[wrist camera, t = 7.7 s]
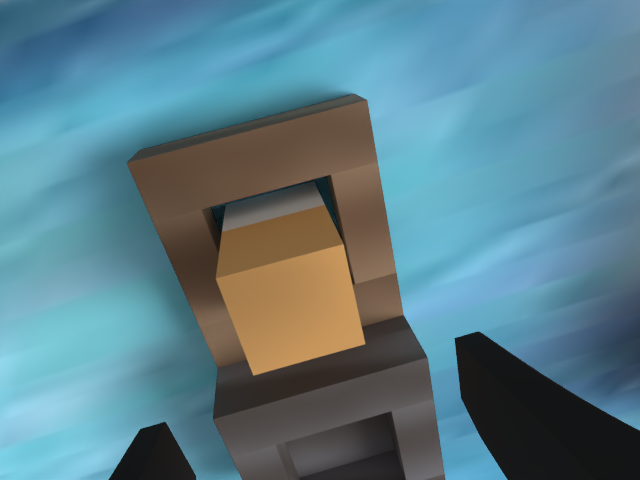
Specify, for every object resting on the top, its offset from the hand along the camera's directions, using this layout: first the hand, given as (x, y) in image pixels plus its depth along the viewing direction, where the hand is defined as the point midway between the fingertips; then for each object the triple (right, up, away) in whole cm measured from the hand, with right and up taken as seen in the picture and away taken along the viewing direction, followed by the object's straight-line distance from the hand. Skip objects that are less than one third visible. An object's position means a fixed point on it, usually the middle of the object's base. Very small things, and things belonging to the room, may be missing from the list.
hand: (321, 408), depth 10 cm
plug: (-2, +4, +9) cm, 10 cm away
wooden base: (-1, 0, +11) cm, 11 cm away
